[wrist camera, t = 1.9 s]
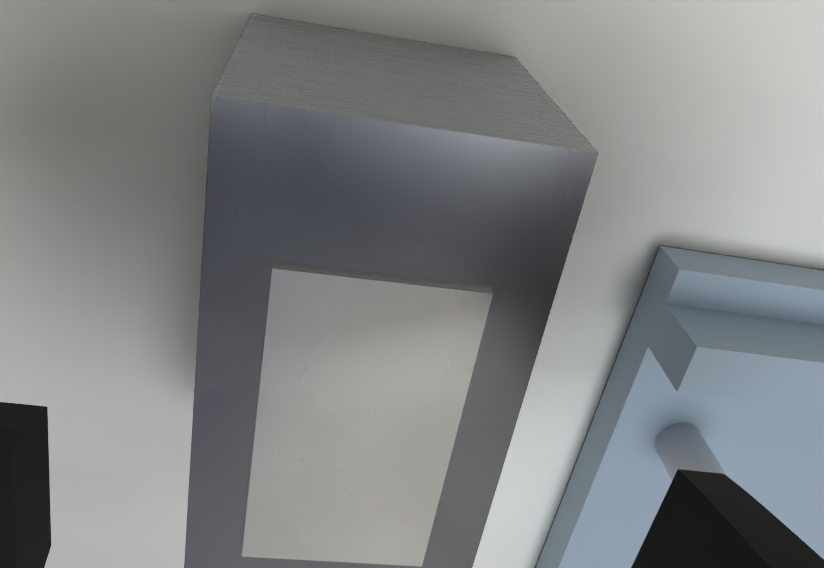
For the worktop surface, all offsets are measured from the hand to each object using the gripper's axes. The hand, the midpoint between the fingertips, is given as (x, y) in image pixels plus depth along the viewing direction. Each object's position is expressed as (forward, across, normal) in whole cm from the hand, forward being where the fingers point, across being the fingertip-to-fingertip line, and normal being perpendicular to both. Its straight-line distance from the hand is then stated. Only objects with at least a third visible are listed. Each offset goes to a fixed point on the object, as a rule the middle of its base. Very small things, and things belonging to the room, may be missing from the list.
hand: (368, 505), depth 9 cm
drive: (+7, 0, 0) cm, 7 cm away
